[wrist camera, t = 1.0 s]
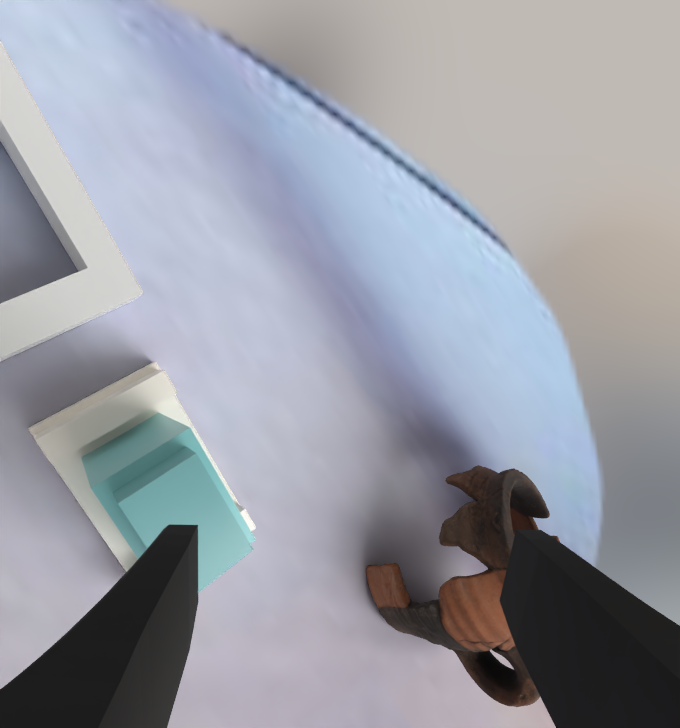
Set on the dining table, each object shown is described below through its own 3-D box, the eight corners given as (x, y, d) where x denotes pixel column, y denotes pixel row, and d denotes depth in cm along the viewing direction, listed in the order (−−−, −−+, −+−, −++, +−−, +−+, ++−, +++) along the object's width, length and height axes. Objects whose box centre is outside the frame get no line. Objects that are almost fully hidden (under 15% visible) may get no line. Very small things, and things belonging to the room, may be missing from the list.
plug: (142, 550, 20) (179, 625, 14) (81, 457, 19) (94, 499, 13) (212, 501, 21) (270, 552, 15) (159, 412, 20) (201, 432, 14)
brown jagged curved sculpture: (330, 524, 25) (474, 491, 21) (408, 464, 33) (525, 431, 29) (420, 751, 25) (592, 769, 20) (478, 635, 32) (611, 629, 28)
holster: (143, 594, 20) (152, 616, 19) (28, 427, 18) (26, 434, 16) (245, 518, 22) (261, 531, 21) (153, 362, 20) (162, 362, 19)
